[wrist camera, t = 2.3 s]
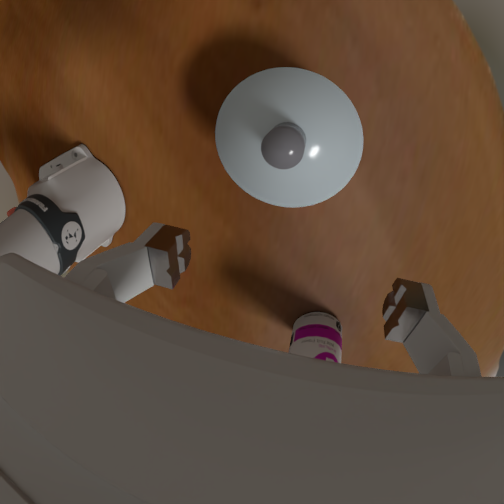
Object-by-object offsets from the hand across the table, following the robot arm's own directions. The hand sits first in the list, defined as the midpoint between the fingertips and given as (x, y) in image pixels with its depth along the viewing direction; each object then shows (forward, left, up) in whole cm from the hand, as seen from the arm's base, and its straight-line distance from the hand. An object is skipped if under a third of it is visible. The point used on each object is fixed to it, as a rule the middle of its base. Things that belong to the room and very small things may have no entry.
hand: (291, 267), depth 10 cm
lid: (-2, +1, -16) cm, 17 cm away
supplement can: (+4, -30, -23) cm, 38 cm away
